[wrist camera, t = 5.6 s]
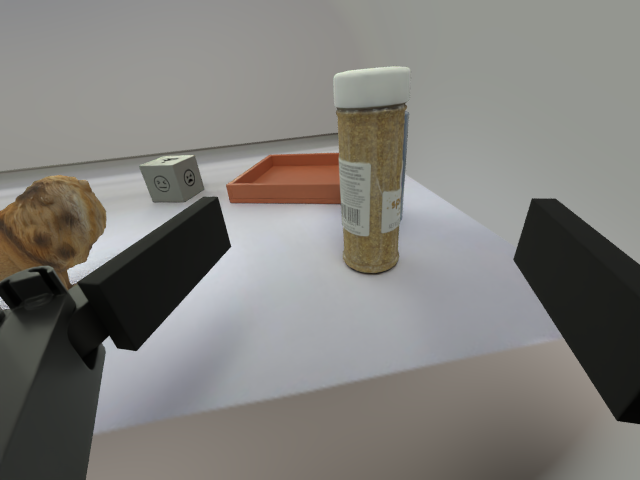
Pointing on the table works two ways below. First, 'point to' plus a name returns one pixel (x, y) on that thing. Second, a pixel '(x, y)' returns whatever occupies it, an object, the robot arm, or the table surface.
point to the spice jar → (371, 163)
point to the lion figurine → (50, 227)
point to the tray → (289, 180)
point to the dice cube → (172, 178)
